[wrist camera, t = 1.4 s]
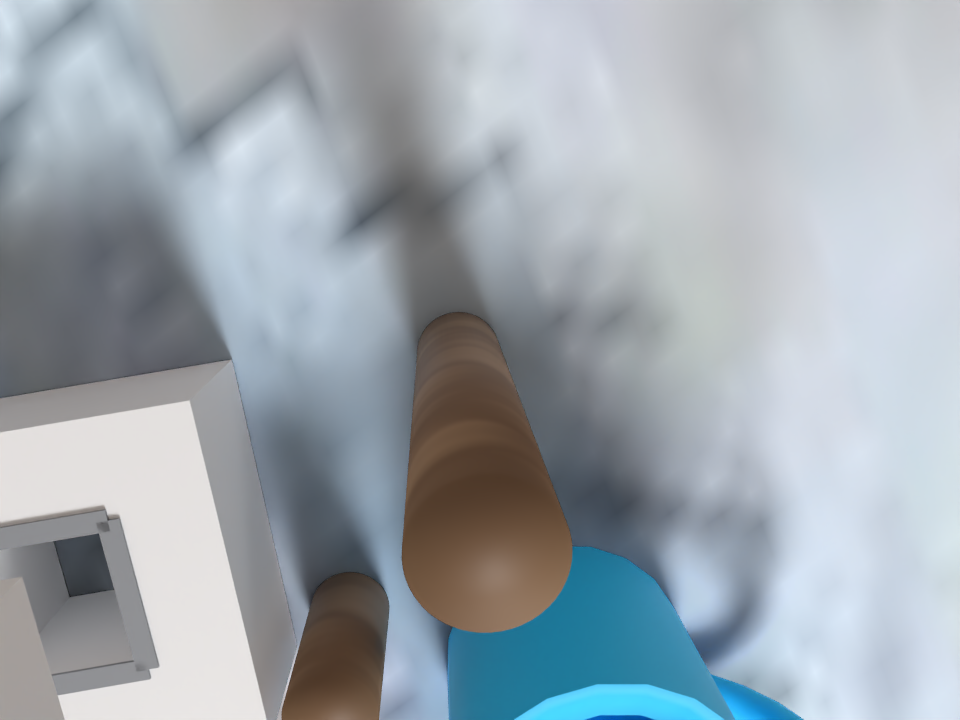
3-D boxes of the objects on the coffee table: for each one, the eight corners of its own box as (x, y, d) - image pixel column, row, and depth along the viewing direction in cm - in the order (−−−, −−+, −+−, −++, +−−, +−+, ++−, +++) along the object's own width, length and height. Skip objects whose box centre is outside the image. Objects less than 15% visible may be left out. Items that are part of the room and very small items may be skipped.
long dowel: (425, 398, 28) (418, 645, 14) (410, 319, 28) (387, 489, 13) (505, 385, 28) (582, 617, 14) (492, 306, 28) (559, 459, 13)
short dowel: (319, 649, 30) (292, 766, 24) (304, 579, 30) (272, 682, 24) (395, 636, 30) (387, 750, 24) (381, 566, 30) (369, 665, 24)
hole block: (1, 696, 30) (-85, 803, 25) (-88, 413, 28) (-202, 466, 23) (297, 645, 30) (270, 740, 25) (231, 359, 28) (188, 401, 23)
